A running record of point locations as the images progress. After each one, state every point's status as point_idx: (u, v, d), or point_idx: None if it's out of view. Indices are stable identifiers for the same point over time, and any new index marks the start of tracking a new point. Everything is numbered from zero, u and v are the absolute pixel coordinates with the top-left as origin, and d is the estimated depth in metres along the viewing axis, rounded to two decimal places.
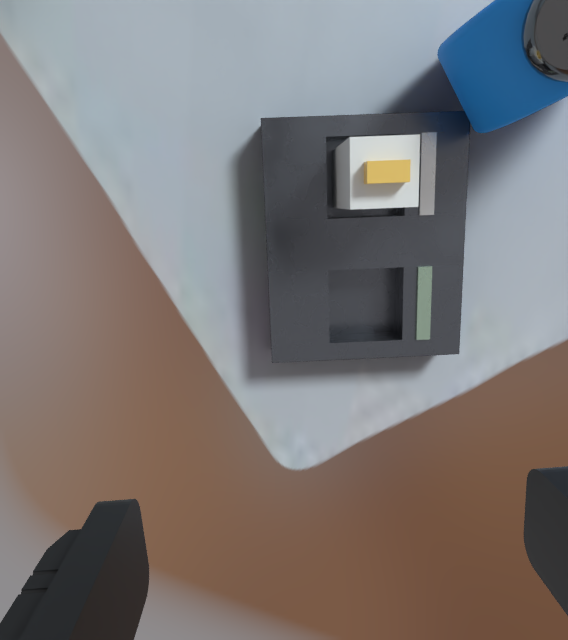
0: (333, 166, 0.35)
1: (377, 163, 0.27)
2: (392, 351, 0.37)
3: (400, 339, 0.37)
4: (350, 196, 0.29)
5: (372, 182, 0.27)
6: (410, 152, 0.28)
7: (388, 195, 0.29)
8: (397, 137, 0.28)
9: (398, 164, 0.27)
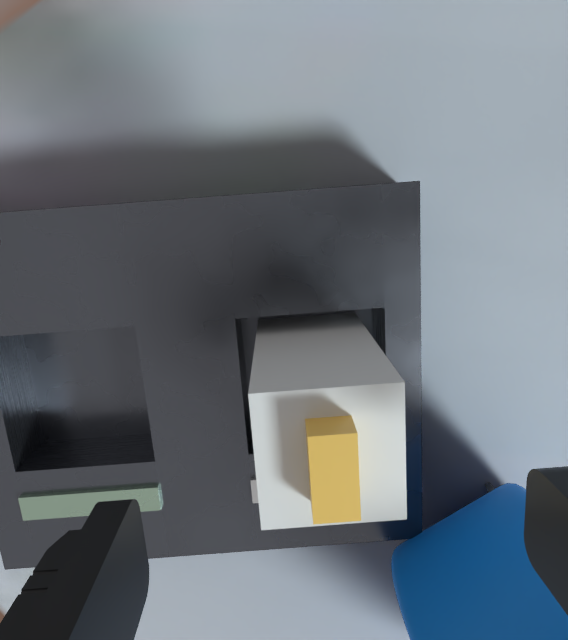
0: (329, 318, 0.20)
1: (352, 455, 0.12)
2: None
3: (15, 468, 0.19)
4: (277, 391, 0.13)
5: (310, 447, 0.12)
6: (371, 504, 0.13)
7: (281, 470, 0.13)
8: (401, 477, 0.13)
9: (350, 496, 0.12)
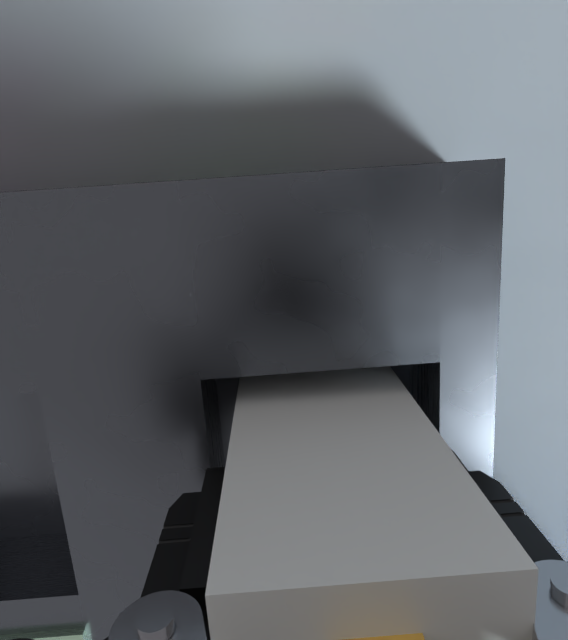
0: (348, 371, 0.13)
1: None
2: None
3: None
4: (267, 586, 0.06)
5: None
6: None
7: None
8: None
9: None
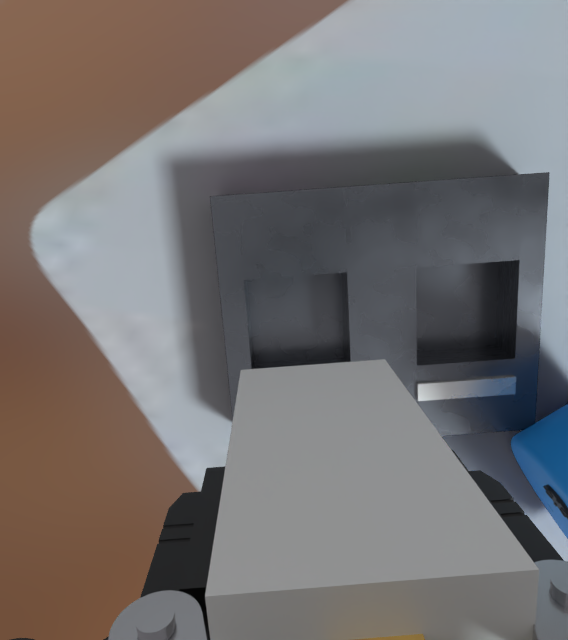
0: (348, 371, 0.13)
1: None
2: (235, 366, 0.27)
3: None
4: (267, 587, 0.06)
5: None
6: None
7: None
8: None
9: None
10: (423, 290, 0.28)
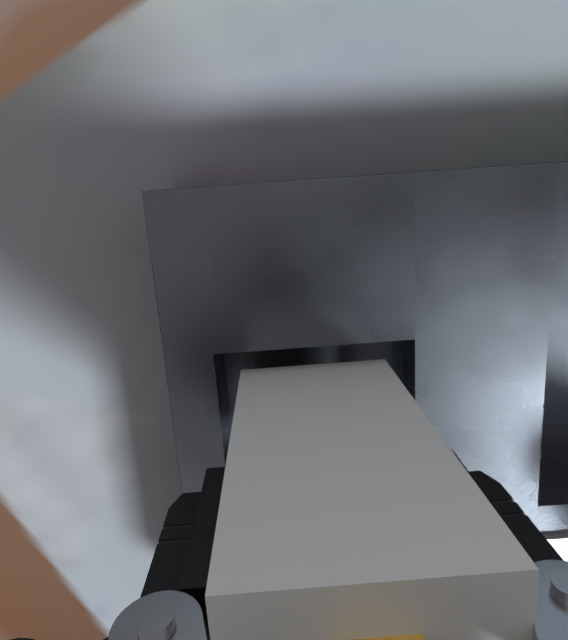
0: (348, 371, 0.13)
1: None
2: None
3: None
4: (267, 587, 0.06)
5: None
6: None
7: None
8: None
9: None
10: None
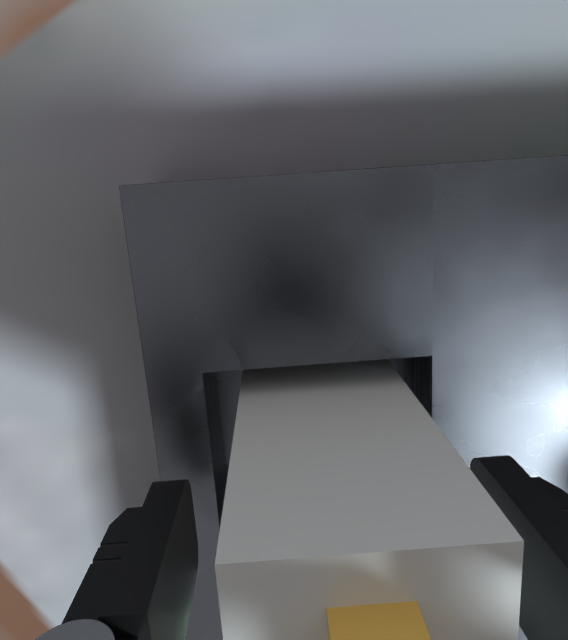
0: (348, 364, 0.13)
1: None
2: None
3: None
4: (272, 556, 0.06)
5: None
6: None
7: None
8: None
9: None
10: None
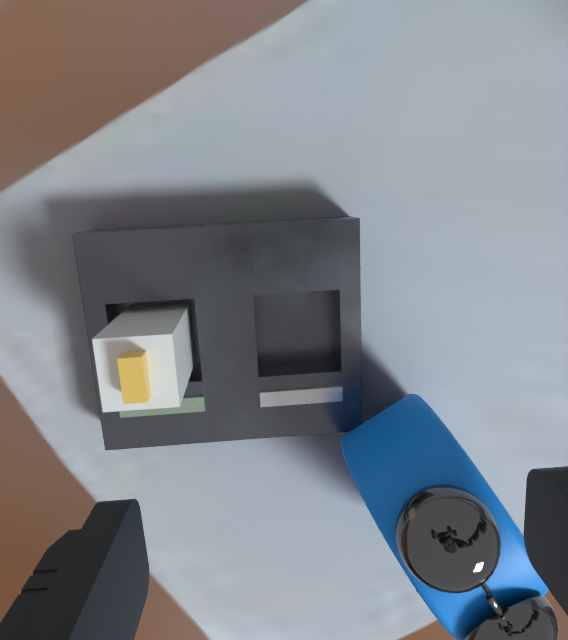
0: (171, 305, 0.32)
1: (140, 368, 0.24)
2: None
3: None
4: (107, 338, 0.25)
5: (119, 364, 0.24)
6: (160, 398, 0.26)
7: (111, 379, 0.25)
8: (175, 384, 0.26)
9: (140, 389, 0.25)
10: (271, 312, 0.33)
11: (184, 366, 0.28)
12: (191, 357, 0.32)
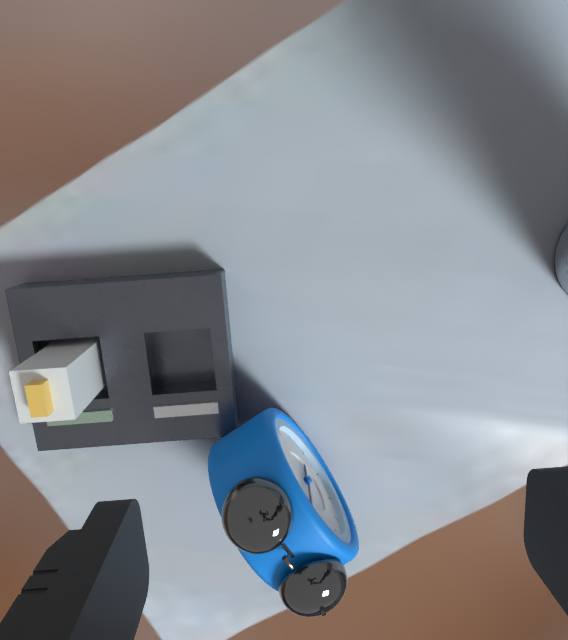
0: (86, 340, 0.42)
1: (41, 392, 0.34)
2: None
3: None
4: (20, 370, 0.35)
5: (26, 389, 0.34)
6: (60, 413, 0.36)
7: (24, 400, 0.35)
8: (70, 403, 0.35)
9: (42, 407, 0.34)
10: (166, 344, 0.43)
11: (86, 388, 0.38)
12: (101, 380, 0.41)
